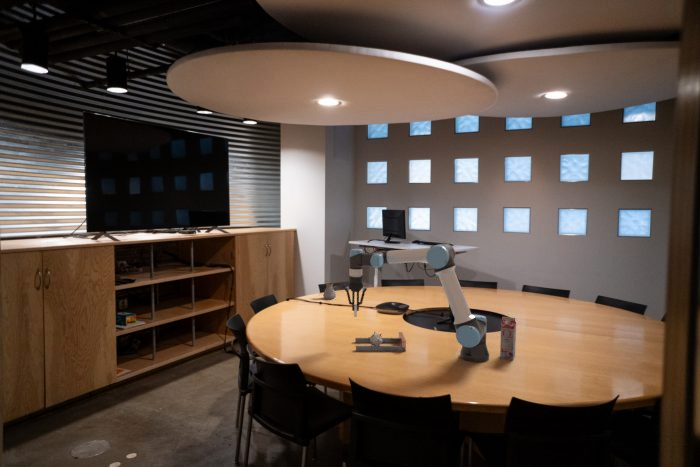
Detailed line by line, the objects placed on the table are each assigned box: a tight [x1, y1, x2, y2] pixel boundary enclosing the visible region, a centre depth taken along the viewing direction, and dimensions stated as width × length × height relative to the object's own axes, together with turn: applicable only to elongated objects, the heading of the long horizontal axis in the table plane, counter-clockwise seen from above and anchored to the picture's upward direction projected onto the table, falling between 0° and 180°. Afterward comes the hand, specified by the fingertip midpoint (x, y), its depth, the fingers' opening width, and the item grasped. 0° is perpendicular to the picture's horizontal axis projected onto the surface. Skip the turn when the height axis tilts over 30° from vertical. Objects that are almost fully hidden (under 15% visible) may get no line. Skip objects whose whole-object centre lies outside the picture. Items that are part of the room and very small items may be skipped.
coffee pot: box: [322, 282, 346, 300], centre depth 383 cm, size 21×12×15 cm, turn 63°
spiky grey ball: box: [367, 331, 384, 346], centre depth 255 cm, size 9×8×10 cm
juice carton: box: [499, 316, 517, 361], centre depth 237 cm, size 7×7×22 cm
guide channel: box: [354, 331, 407, 352], centre depth 255 cm, size 17×28×6 cm, turn 90°
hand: (355, 316), depth 254 cm, fingers closed
